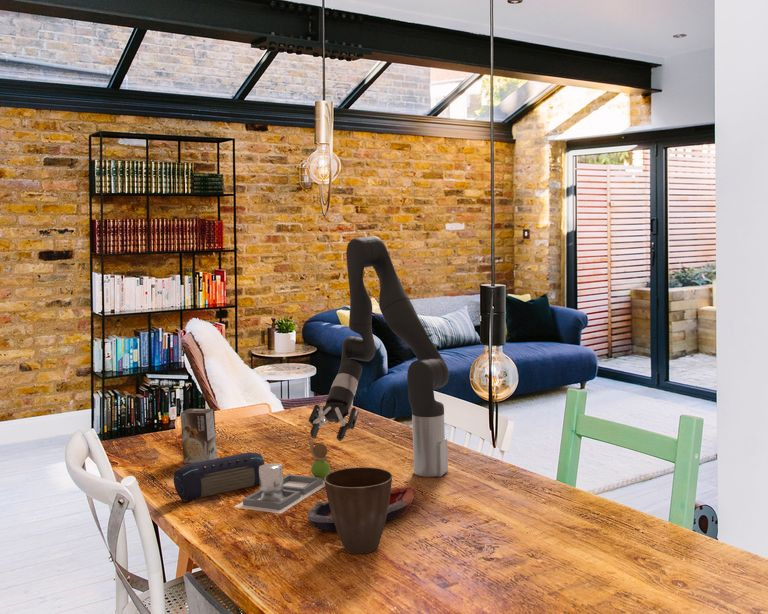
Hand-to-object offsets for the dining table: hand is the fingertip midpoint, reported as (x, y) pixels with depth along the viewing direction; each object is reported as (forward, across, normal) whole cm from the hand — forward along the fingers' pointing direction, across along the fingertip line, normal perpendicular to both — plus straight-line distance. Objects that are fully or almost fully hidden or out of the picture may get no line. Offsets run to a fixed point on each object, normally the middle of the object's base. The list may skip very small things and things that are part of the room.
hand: (325, 438), depth 224 cm
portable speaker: (+26, -18, -10) cm, 33 cm away
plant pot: (+40, +33, -25) cm, 57 cm away
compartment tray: (+24, 0, -10) cm, 26 cm away
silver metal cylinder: (+27, 0, -15) cm, 31 cm away
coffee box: (+8, -45, +7) cm, 46 cm away
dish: (+28, +26, -13) cm, 40 cm away
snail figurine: (+11, 0, +4) cm, 12 cm away
